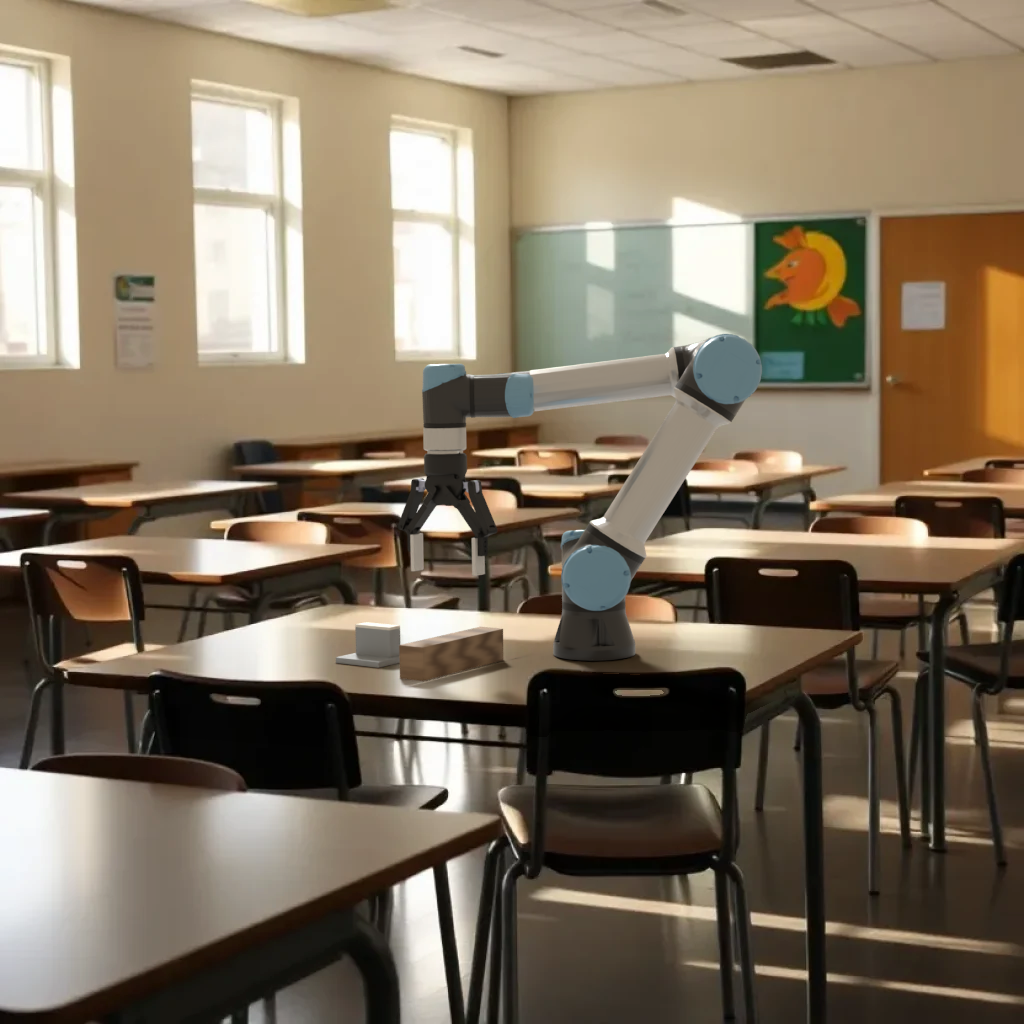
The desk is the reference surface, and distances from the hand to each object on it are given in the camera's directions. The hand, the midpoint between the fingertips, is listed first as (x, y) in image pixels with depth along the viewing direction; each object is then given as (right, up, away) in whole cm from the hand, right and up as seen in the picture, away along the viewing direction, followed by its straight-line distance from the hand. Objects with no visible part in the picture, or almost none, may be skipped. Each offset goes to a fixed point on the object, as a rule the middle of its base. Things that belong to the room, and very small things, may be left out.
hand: (447, 572), depth 305 cm
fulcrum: (-13, -16, +10) cm, 23 cm away
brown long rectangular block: (+1, -17, 0) cm, 17 cm away
